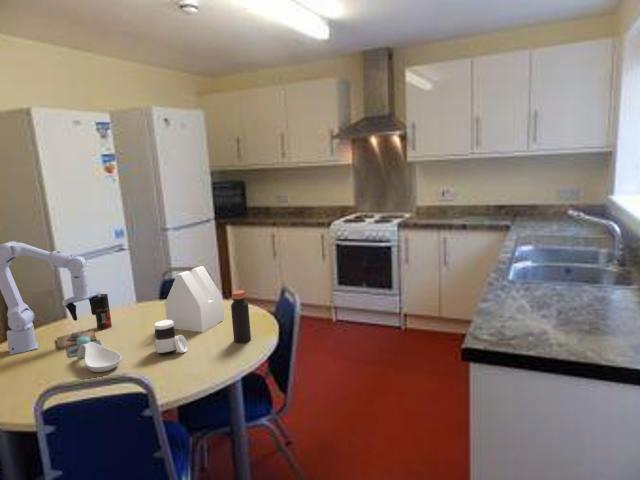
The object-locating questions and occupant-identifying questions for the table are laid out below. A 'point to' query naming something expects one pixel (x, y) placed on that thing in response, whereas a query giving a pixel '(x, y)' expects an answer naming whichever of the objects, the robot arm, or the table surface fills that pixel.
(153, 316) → the table surface
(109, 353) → the spoon rest
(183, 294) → the white peaked block
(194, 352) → the table surface
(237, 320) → the bottle
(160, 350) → the spread jar
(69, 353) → the mat
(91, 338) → the post board
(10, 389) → the table surface
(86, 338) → the teal ovoid with tab
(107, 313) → the deodorant
